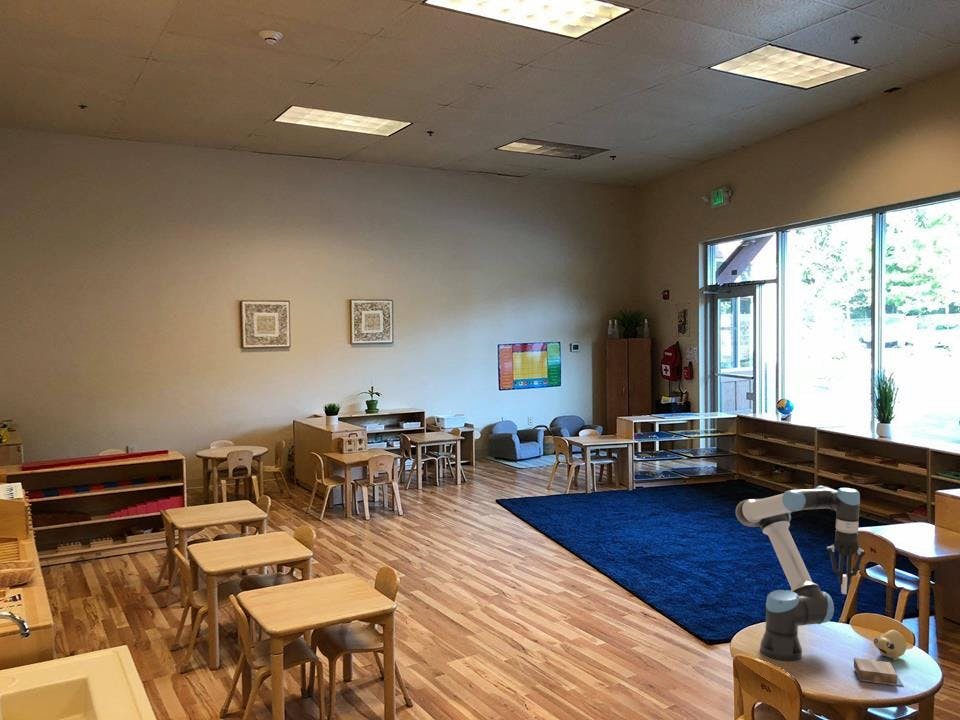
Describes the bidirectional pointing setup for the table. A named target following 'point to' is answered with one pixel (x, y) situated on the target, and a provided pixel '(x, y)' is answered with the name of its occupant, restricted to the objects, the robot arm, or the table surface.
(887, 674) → the brown flat block
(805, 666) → the table surface
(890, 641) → the beige rounded lump
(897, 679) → the mat
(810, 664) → the table surface
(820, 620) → the robot arm
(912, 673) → the table surface
